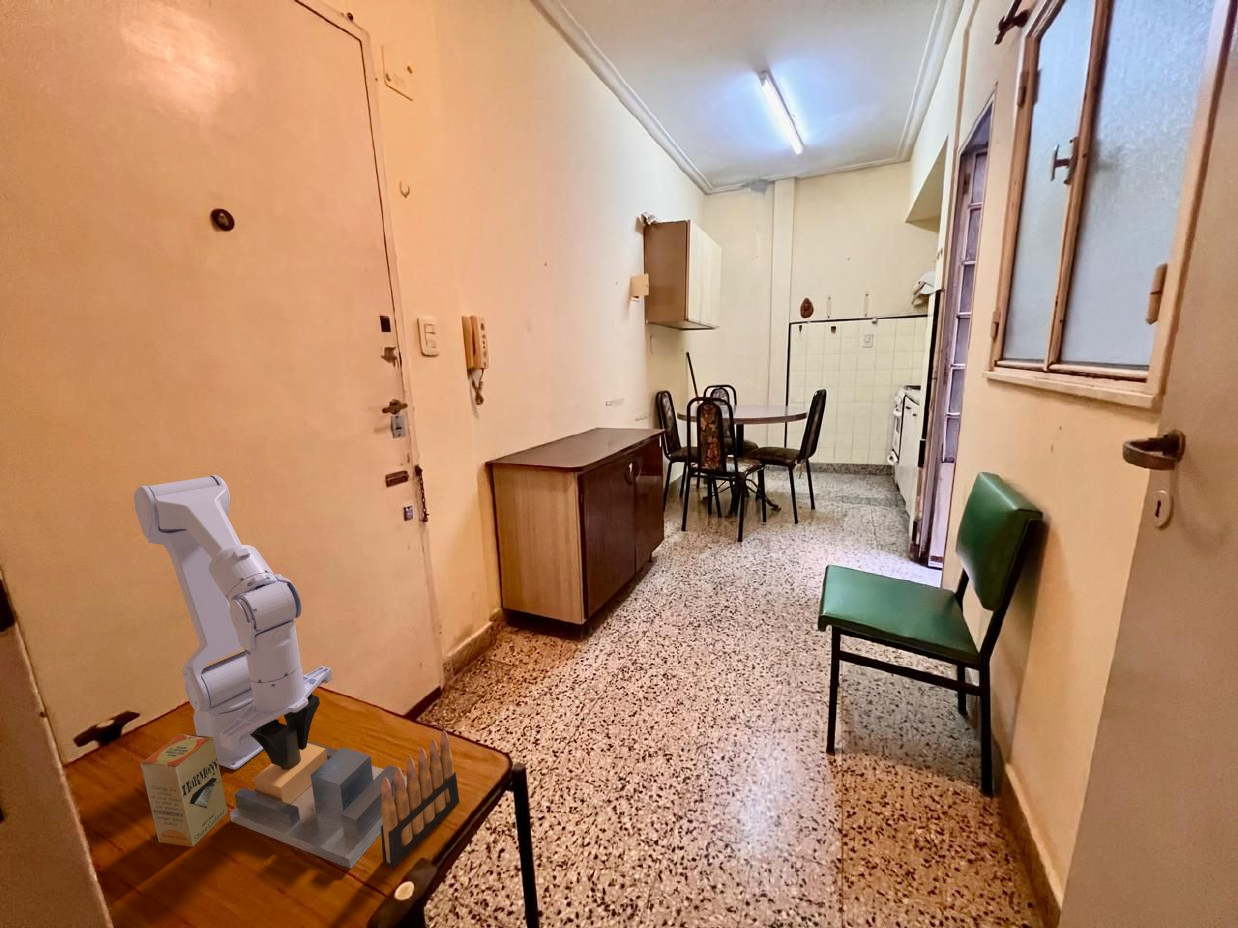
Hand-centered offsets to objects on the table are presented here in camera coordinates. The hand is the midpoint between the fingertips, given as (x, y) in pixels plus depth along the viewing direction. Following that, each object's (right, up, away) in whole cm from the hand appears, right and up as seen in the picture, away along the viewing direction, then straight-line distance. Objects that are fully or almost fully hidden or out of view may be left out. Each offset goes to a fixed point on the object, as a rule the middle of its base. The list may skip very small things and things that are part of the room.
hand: (289, 754), depth 68 cm
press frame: (+6, -7, -1) cm, 9 cm away
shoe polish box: (-10, -8, -4) cm, 13 cm away
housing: (+9, -5, -2) cm, 11 cm away
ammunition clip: (+21, -8, -4) cm, 22 cm away
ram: (0, -5, +1) cm, 5 cm away
